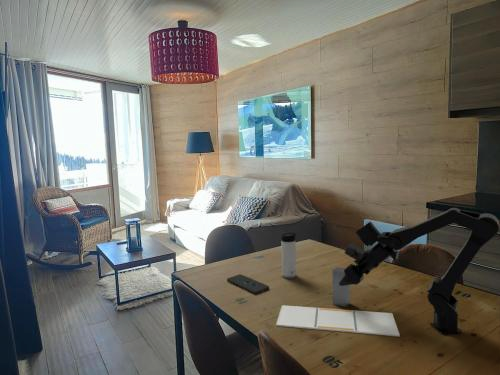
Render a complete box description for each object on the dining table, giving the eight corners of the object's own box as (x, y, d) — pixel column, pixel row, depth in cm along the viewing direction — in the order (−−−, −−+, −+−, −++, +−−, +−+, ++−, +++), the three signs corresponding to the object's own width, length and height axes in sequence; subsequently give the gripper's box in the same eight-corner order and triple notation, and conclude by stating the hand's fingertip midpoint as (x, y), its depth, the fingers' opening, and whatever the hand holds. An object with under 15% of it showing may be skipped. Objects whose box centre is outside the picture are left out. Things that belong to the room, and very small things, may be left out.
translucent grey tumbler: (349, 303, 129) (349, 269, 128) (345, 307, 126) (345, 272, 124) (336, 300, 132) (336, 267, 130) (332, 304, 129) (332, 270, 127)
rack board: (392, 314, 119) (392, 313, 119) (399, 336, 106) (399, 334, 106) (282, 306, 128) (282, 305, 128) (276, 325, 115) (276, 324, 115)
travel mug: (296, 279, 154) (295, 235, 151) (281, 278, 155) (280, 234, 153) (297, 274, 160) (296, 231, 158) (283, 273, 161) (281, 231, 159)
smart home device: (254, 291, 139) (226, 278, 154) (255, 296, 139) (226, 282, 155) (270, 286, 144) (240, 273, 160) (270, 290, 144) (240, 277, 160)
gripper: (367, 231, 129) (339, 255, 137) (350, 244, 114) (319, 270, 122) (389, 255, 126) (358, 278, 134) (374, 272, 111) (340, 296, 119)
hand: (344, 280), depth 127 cm, fingers open, 9 cm apart
